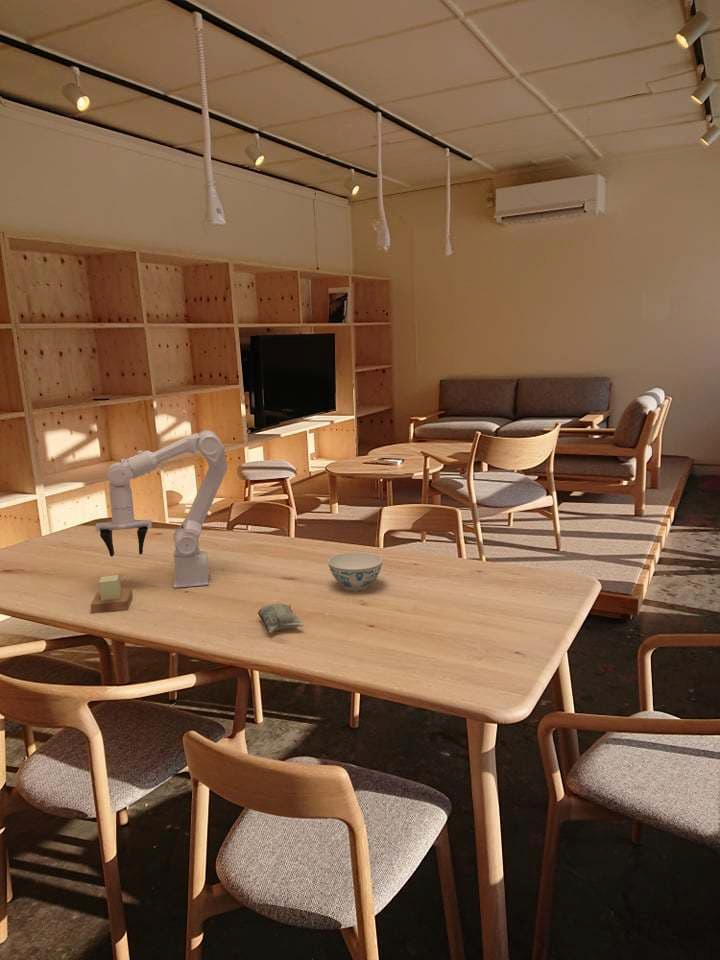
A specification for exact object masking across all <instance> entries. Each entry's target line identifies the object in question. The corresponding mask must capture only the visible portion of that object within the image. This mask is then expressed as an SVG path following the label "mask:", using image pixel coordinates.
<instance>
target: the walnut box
mask: <svg viewBox="0 0 720 960" xmlns="http://www.w3.org/2000/svg"><path fill="white" fill-rule="evenodd" d="M120 590H121V594H120V598H119V599H111V600H102V601H101V596H100V591H98V592H96V593H95V596H94V597H93V599H92V601H91V603H90V611H91V614H102V613H103V614H105V613H115V612H125V611H126V612H127V611H129V610H130V606H131V604H132V601H133V599H134V598H133V596H134V595H133V589H120Z"/></svg>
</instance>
